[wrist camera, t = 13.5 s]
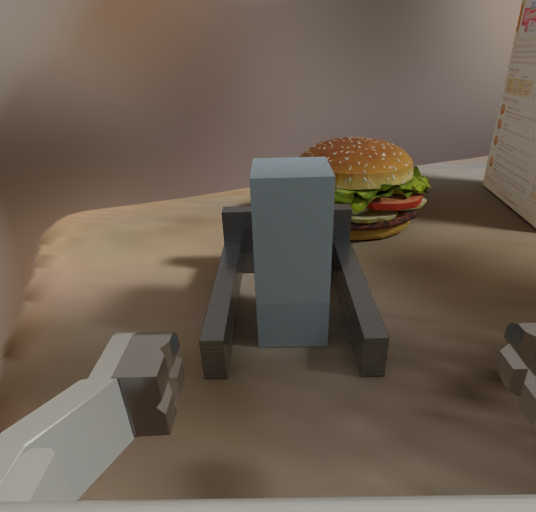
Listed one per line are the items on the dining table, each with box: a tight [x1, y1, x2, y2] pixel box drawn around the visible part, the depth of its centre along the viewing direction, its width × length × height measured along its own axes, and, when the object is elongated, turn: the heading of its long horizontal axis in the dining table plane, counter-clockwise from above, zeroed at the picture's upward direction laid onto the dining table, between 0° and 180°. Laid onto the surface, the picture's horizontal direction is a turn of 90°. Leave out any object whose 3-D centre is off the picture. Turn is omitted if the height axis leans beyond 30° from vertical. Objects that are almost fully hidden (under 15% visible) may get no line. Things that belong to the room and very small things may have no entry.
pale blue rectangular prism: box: [250, 157, 335, 347], centre depth 23 cm, size 4×4×10 cm
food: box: [300, 137, 431, 240], centre depth 39 cm, size 14×14×8 cm
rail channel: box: [199, 204, 389, 379], centre depth 25 cm, size 9×13×5 cm
